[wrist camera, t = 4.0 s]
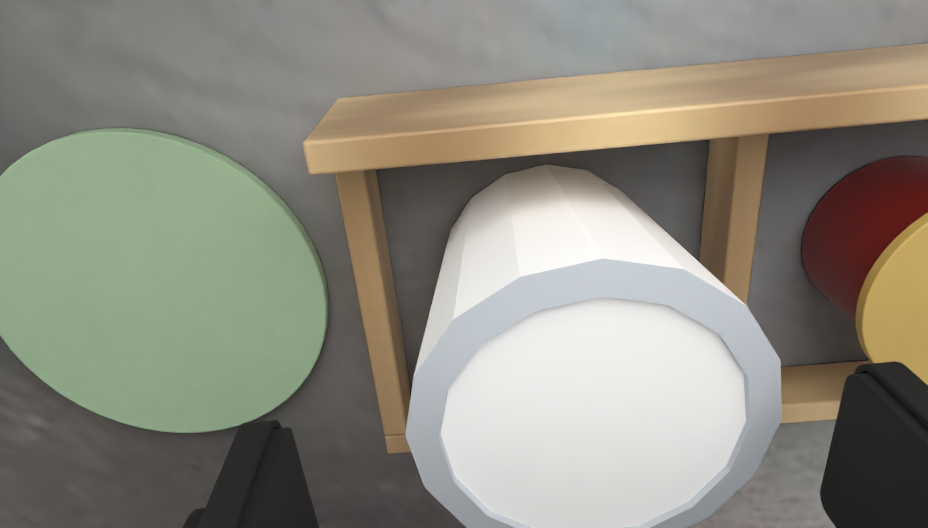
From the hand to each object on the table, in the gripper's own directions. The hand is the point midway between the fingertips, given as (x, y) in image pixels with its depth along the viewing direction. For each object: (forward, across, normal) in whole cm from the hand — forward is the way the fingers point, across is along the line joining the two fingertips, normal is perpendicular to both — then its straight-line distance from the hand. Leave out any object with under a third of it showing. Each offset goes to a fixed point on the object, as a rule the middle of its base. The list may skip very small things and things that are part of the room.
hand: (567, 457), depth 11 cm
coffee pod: (+7, -10, 0) cm, 13 cm away
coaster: (+8, +10, 0) cm, 13 cm away
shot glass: (+8, -1, 0) cm, 8 cm away
